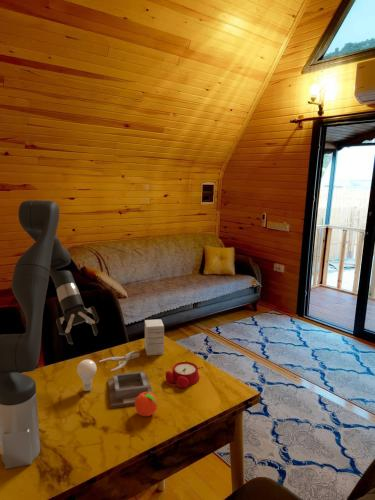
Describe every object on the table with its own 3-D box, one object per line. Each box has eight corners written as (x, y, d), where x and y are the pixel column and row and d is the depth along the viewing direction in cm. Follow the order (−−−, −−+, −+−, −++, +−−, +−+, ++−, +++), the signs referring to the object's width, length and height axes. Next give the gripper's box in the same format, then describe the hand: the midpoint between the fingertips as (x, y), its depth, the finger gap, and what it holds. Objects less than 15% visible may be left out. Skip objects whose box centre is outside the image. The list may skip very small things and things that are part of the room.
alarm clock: (206, 366, 137) (183, 374, 124) (204, 383, 137) (181, 393, 125) (183, 358, 143) (159, 365, 130) (181, 374, 143) (157, 382, 130)
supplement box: (144, 347, 158) (144, 319, 155) (161, 346, 159) (161, 318, 157) (146, 356, 151) (146, 326, 148) (164, 354, 152) (164, 325, 150)
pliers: (98, 359, 145) (130, 347, 155) (98, 362, 146) (130, 351, 155) (111, 368, 138) (144, 356, 148) (111, 372, 138) (144, 360, 148)
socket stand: (154, 402, 121) (154, 391, 120) (111, 408, 117) (110, 397, 116) (147, 376, 136) (147, 366, 135) (108, 381, 132) (107, 371, 131)
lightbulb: (77, 396, 123) (76, 366, 120) (78, 386, 129) (76, 357, 126) (97, 394, 124) (96, 364, 122) (97, 383, 130) (96, 355, 128)
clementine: (164, 413, 115) (164, 392, 113) (150, 425, 109) (150, 404, 108) (144, 404, 119) (144, 384, 118) (130, 415, 114) (129, 394, 112)
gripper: (49, 301, 130) (63, 344, 125) (89, 288, 136) (104, 329, 131) (50, 307, 136) (64, 349, 131) (88, 295, 142) (103, 334, 137)
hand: (84, 339), depth 131 cm, fingers open, 8 cm apart
